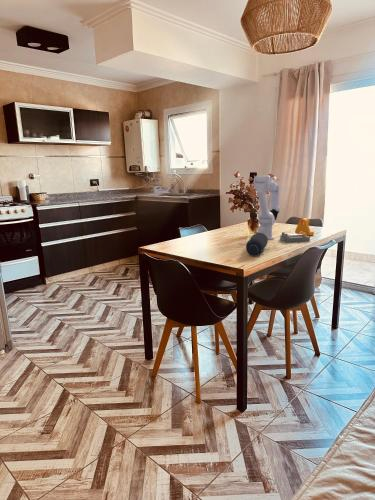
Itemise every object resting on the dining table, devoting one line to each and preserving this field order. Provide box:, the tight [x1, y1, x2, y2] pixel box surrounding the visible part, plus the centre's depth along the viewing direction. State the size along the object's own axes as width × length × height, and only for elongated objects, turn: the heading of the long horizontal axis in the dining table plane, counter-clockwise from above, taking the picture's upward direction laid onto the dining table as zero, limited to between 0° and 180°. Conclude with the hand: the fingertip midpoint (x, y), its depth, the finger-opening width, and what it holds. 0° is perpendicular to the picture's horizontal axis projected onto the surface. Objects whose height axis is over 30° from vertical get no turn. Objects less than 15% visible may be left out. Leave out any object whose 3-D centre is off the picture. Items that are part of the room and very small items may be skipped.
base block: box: [279, 231, 311, 244], centre depth 227 cm, size 16×10×5 cm, turn 97°
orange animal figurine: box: [294, 217, 315, 237], centre depth 242 cm, size 11×7×12 cm, turn 39°
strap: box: [283, 233, 303, 237], centre depth 226 cm, size 14×3×1 cm, turn 97°
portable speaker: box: [245, 232, 269, 257], centre depth 202 cm, size 25×10×10 cm, turn 160°
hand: (274, 219), depth 247 cm, fingers closed
